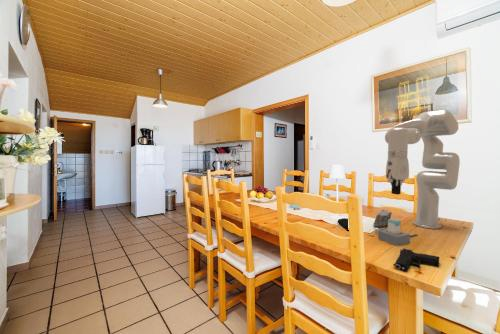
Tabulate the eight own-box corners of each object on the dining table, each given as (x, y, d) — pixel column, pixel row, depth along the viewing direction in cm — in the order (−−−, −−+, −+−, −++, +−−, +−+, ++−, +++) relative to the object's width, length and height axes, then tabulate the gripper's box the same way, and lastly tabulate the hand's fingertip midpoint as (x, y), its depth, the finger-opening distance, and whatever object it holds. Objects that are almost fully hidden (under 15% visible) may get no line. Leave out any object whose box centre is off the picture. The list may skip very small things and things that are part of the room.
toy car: (348, 223, 131) (348, 214, 131) (363, 232, 115) (363, 223, 114) (336, 223, 131) (336, 214, 131) (349, 232, 115) (349, 223, 114)
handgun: (436, 284, 71) (392, 269, 79) (438, 263, 83) (401, 253, 91) (437, 274, 70) (393, 260, 78) (439, 255, 83) (401, 245, 91)
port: (390, 236, 109) (391, 228, 109) (409, 242, 101) (410, 234, 101) (378, 238, 106) (378, 230, 106) (396, 245, 98) (397, 237, 98)
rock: (380, 229, 118) (383, 211, 118) (365, 224, 125) (368, 207, 125) (394, 229, 126) (397, 212, 126) (379, 224, 134) (382, 208, 134)
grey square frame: (383, 231, 116) (383, 227, 116) (396, 235, 110) (396, 232, 110) (375, 233, 113) (375, 229, 113) (387, 237, 107) (387, 233, 107)
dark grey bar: (415, 235, 111) (416, 234, 111) (417, 235, 110) (417, 234, 110) (401, 238, 106) (401, 237, 106) (403, 239, 106) (403, 237, 106)
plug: (399, 241, 103) (400, 220, 102) (394, 242, 101) (395, 221, 101) (392, 238, 106) (393, 218, 106) (387, 239, 105) (388, 219, 104)
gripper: (394, 155, 95) (393, 196, 96) (416, 154, 101) (414, 194, 102) (378, 155, 102) (377, 193, 103) (399, 154, 108) (398, 191, 109)
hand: (395, 193), depth 102 cm, fingers closed
